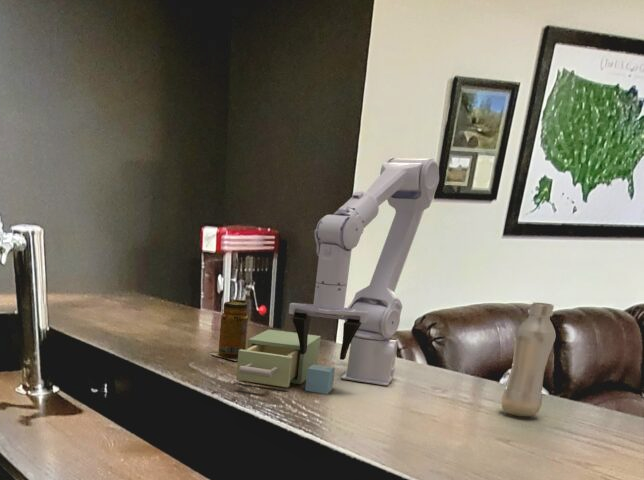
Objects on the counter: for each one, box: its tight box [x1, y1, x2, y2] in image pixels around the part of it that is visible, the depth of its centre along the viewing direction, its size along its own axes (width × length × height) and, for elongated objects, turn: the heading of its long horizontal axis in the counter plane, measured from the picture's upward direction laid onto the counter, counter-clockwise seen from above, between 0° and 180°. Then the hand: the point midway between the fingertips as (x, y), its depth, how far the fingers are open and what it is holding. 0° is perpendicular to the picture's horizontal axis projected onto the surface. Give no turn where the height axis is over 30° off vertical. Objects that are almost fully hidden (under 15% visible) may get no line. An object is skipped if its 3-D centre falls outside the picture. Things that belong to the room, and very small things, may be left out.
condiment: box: [209, 301, 249, 362], centre depth 162 cm, size 7×8×12 cm
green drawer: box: [235, 344, 300, 388], centre depth 140 cm, size 18×10×6 cm, turn 157°
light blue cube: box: [304, 364, 336, 395], centre depth 139 cm, size 4×4×4 cm
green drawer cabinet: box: [247, 329, 322, 385], centre depth 150 cm, size 14×12×8 cm
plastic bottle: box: [500, 301, 557, 417], centre depth 128 cm, size 6×7×20 cm
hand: (322, 356), depth 138 cm, fingers open, 7 cm apart
